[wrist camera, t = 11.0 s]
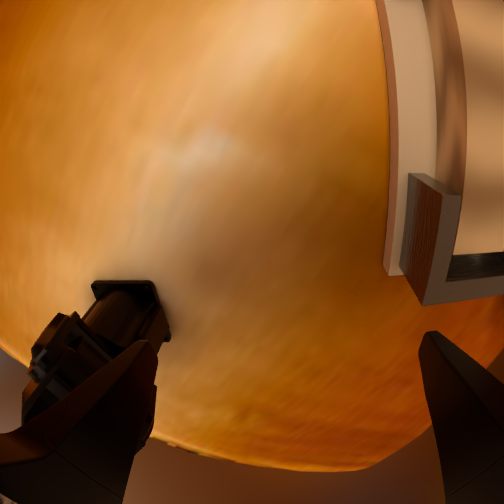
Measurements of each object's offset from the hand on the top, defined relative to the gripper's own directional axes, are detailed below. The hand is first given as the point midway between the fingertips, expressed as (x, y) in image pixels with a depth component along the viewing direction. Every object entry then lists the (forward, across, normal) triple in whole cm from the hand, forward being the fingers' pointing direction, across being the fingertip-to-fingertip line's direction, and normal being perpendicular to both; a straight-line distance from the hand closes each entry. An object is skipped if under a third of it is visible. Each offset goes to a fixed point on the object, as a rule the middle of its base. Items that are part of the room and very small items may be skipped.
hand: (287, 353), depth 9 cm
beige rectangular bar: (+10, -12, -9) cm, 18 cm away
